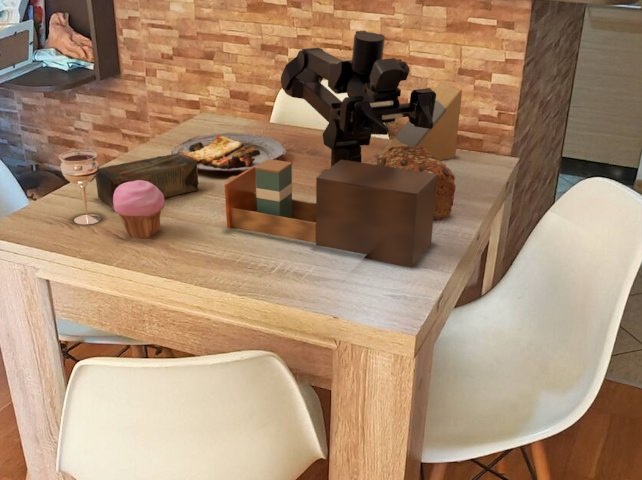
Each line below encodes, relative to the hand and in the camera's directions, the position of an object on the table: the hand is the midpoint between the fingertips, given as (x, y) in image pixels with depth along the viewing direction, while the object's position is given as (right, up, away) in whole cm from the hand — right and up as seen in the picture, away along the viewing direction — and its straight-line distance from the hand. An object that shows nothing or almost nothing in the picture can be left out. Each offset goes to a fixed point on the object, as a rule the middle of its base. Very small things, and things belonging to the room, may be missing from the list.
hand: (409, 128), depth 146 cm
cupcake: (-48, -19, 0) cm, 52 cm away
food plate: (-36, +4, +36) cm, 51 cm away
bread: (+2, -11, +14) cm, 18 cm away
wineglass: (-59, -15, +7) cm, 62 cm away
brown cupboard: (-7, -22, -4) cm, 23 cm away
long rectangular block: (-24, -16, +3) cm, 29 cm away
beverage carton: (-50, -8, +17) cm, 53 cm away
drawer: (-23, -17, +3) cm, 29 cm away
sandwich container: (+6, +5, +38) cm, 39 cm away
